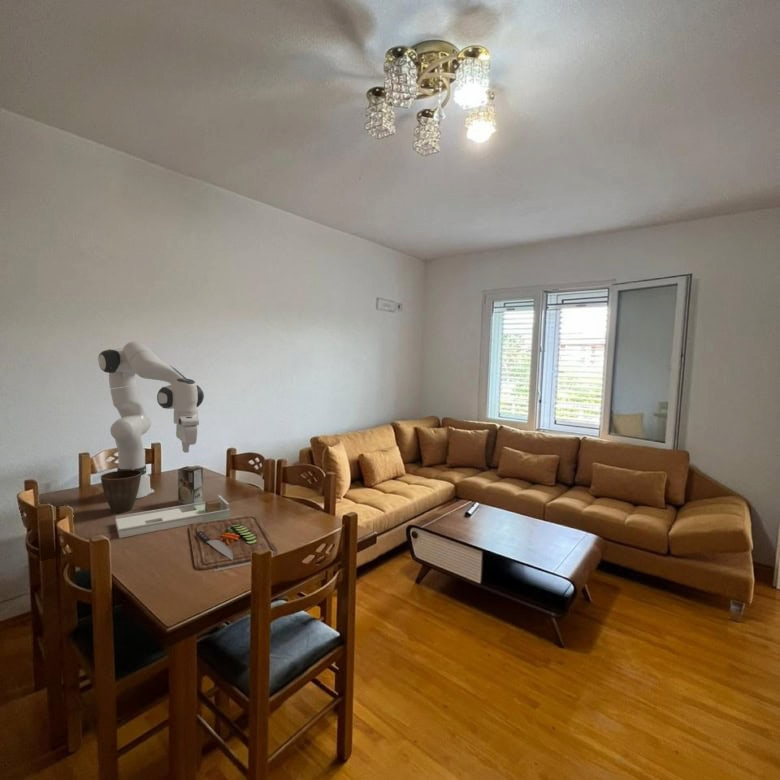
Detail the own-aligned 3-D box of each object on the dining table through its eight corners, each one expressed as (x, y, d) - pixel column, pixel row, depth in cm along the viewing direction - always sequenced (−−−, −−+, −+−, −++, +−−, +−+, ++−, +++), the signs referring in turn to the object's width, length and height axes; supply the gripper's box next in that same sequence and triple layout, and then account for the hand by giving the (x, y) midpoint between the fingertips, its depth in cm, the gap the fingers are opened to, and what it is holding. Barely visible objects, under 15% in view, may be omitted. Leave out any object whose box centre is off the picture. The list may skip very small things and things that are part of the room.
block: (205, 509, 180) (205, 500, 180) (217, 507, 183) (217, 498, 183) (208, 513, 176) (208, 504, 176) (220, 511, 179) (220, 501, 179)
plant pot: (102, 519, 172) (102, 481, 171) (99, 508, 184) (98, 472, 183) (144, 511, 182) (144, 475, 181) (138, 502, 193) (138, 468, 192)
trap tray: (115, 524, 168) (115, 510, 167) (219, 506, 192) (219, 494, 192) (119, 538, 155) (119, 523, 155) (229, 516, 180) (229, 504, 179)
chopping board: (281, 560, 144) (281, 551, 144) (196, 576, 131) (196, 567, 131) (255, 515, 183) (255, 509, 183) (188, 525, 170) (188, 518, 170)
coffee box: (203, 500, 198) (203, 467, 197) (194, 505, 192) (194, 470, 191) (186, 498, 200) (187, 465, 199) (177, 503, 194) (177, 469, 193)
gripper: (172, 415, 177) (172, 448, 178) (182, 422, 161) (182, 457, 162) (188, 415, 181) (188, 446, 182) (200, 421, 165) (200, 455, 166)
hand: (185, 451), depth 172 cm, fingers closed
